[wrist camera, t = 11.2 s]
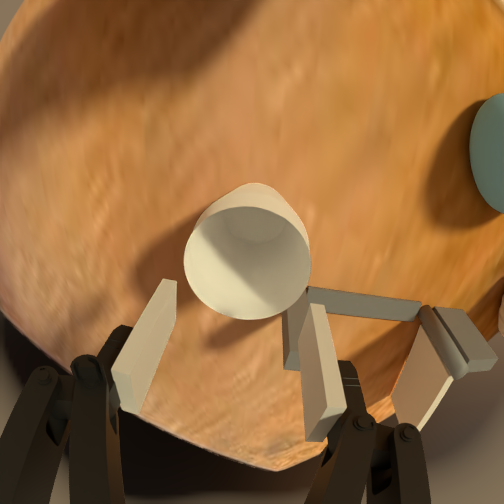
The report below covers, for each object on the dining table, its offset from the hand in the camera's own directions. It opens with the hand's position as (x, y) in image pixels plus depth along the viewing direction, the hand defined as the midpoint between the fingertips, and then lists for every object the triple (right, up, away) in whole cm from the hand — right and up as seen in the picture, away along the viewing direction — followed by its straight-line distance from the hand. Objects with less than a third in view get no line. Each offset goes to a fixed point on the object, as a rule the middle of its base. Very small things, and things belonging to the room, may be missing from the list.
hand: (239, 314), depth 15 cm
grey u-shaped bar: (+18, -4, +20) cm, 27 cm away
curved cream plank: (+25, -14, +23) cm, 37 cm away
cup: (+1, +7, +16) cm, 17 cm away
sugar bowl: (+32, +16, +10) cm, 37 cm away
